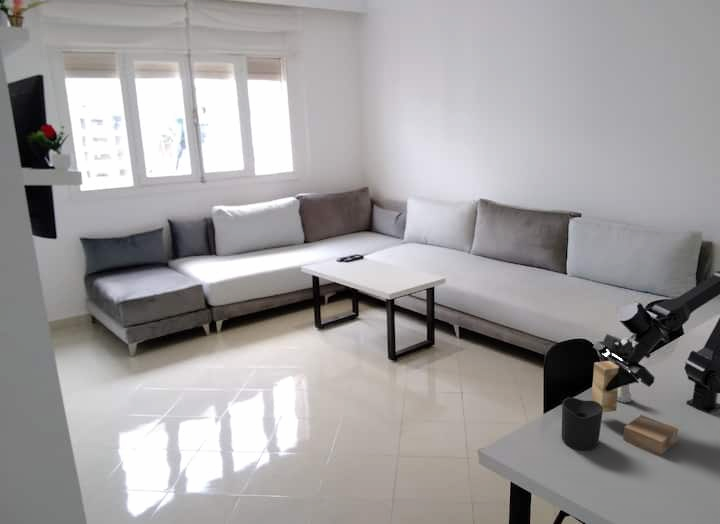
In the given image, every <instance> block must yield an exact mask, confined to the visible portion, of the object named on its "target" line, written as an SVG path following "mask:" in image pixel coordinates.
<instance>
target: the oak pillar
mask: <svg viewBox="0 0 720 524" xmlns="http://www.w3.org/2000/svg"><path fill="white" fill-rule="evenodd" d="M618 369H619V365H617V364H616V363H615V364H614V363H612V362H611V361H603V362H601V361H596V362H594V363H593V373H592V374H593V376H592V387H591V388H592V389H591V399H590V401H596V402H598V403H599V404H600V405H601V406H602V408H603V412H602V414H603V413H609V412H616V411H617V409H618V407H617V406H618V405H617V404H618V401H617V397H618V388H616V389H613V390H610V391H607V390H606V389H605V388H606V386H607V385H608V384H609V382H610V381H611V380H612V379H613V378H614V377H615V375H616V374H617V373H618Z"/></svg>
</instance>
